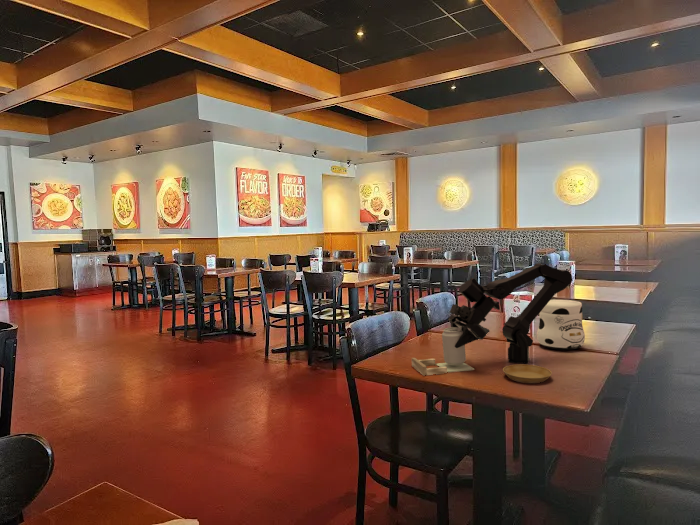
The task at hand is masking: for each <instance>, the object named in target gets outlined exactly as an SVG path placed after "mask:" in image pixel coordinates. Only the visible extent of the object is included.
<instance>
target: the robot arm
mask: <svg viewBox="0 0 700 525" xmlns="http://www.w3.org/2000/svg"><path fill="white" fill-rule="evenodd" d="M539 277H541V278H544V281H543V286H542V287H541V288H540V290H539V291H538V292H537V294H536V295H535V296H534V297H533V298H532V299H531V300H530V302H529V303H528V304H527V306H525V308H524V309H523V310H522V311H521V312H520V314H519V315H517V316H516V317H515V316H512V315H511V316H509V317H508V319H507V320H506V322H504V323H503V325H504V326H502V329H501V330H502V335H503V336H504V338H505V339H506V342H507V343H509V346H508V347H507V360H508V363H514V364H516V363H517V364H526V365H529V362H530V359H531V358H530V347H532V346H533V342H534V340H533V339H532V338H531V337H530V336H529V335H528V334H529V332H530V328H531V324H532V323H533V321H534V320H535V319H536V318H537V317H538V316H539V313H540V312H541V311H542V309H543V308H544V307H545V306H546V305H547V303H548V302H549V301H550V300H553V298H554V296H555V295H556V294H558V293H560V292H562V291H564V290H565V289H567V287H569V286H570V285H571V284H572V283H573V275H572V273H571V271H569V270H567V269H566V270H565V269H558V268H555V267H552V266H550V265H547V264H546V263H535V264H534V265H532V266H530V267H528V268H526V269H524V270H521V271H519V272H518V273H515V274H512V275H511V276H509V277H506V278H502V279H501V278H500V279H496V280H493V281H490V282H488V283H487V284H486V285H481V284H480V283H478V281H477V280H476V279H475V278H474V277H471V278H469V280H467V281H465V282H464V283H462V284H461V285H460V287H459V288H458V292H459V293H460V294H461V295H462V296H463V297H464V298H465V299H466V300H467V301H468V302H469V303H474V304H473V305H472V306H468V305H467V306H466V305H464V304H463V305H461V306H459V305H457V304H454V303H452V305H451V308H450V311H449V313H451V315H450V316H449V317H448V318H447V320H448V321H449V324H450V328H451V327H458V328H461V329H462V330H461V331H462V332H463V334H462V335H461V337H460V338H459V340H458V341H457V343H456V344H455V347H456V348H459V347H461V346H463V345H465V346H466V345H468V344H470V343H472V342H475V341H479V340H478V338H479V339H482V340H483V339H484V338H485V337H487V335H486V332H485V331H484V330H483V329H482V328H481V327H480V326H479V325H481V323H482V322H486V321H487V319H486V317H487V316H488V314H489V313H491V311H492V310H493V309H494V310H498V311H499V310H501V308H500V302H499V301H496V300H497V299H498V300H504V299H506V298H507V297H508V296H510V295H511V294H513V291H515V290H516V289H518V288H519V287H521V286H523V285H525V284H527V283H529V282H531V281H534V280H536V279H538V278H539ZM494 299H496V300H494ZM477 337H478V338H477Z"/></svg>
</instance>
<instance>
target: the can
mask: <svg viewBox="0 0 700 525" xmlns="http://www.w3.org/2000/svg"><path fill="white" fill-rule="evenodd" d="M461 330H462V329H461V328H458V327H451V326H450V327H446V328H444V329H443V332H442V333H441V341H442V351H443V352H442V353H443V361H444V363H447V364H449V365H460V364H463V363H465V362H466V361H467V358H466V354H467V353H466V344H465V345H463V346H461V347H459V348H456V347H455V344H456V343H457V341H458V340H459V338H460V337H461V335H462V334H463V332H462V331H461Z"/></svg>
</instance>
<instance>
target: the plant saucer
mask: <svg viewBox="0 0 700 525" xmlns="http://www.w3.org/2000/svg"><path fill="white" fill-rule="evenodd" d="M502 371H503V372H504V374H505V375H506V376H507V377H508V378H509V379H510V380H512V381H515V382H516V383H523V384H539V383H540V382H541V383H543V382H545V381H547V380H548V379H549V378H550V377H551V376H552V374H553V372H552V371H551V370H550V369H549V368H547V367H544V366H539V365H536V364H535V365H534V364H524V363H517V364H516V363H515V364H511V365H506V366H504V367H503V368H502ZM541 383H540V384H541Z"/></svg>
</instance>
